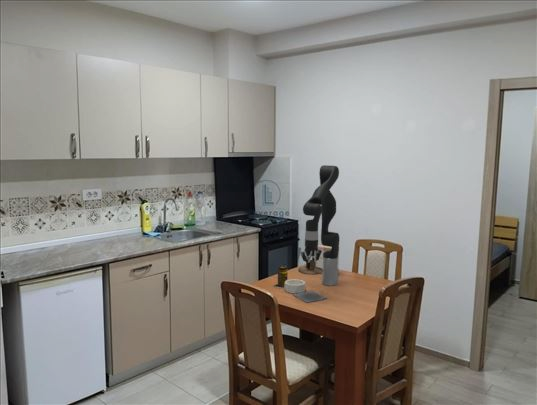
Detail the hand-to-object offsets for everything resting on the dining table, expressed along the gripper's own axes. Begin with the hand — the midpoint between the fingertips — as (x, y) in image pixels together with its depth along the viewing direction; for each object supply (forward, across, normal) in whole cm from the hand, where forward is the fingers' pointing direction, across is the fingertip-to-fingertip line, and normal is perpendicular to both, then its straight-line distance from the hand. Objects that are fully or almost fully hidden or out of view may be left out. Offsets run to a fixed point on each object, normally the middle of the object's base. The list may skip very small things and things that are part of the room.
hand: (310, 267), depth 242 cm
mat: (+17, 0, 0) cm, 17 cm away
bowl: (+17, +1, -14) cm, 22 cm away
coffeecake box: (+17, -38, -33) cm, 53 cm away
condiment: (+18, +4, -25) cm, 31 cm away
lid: (+2, 0, 0) cm, 2 cm away
